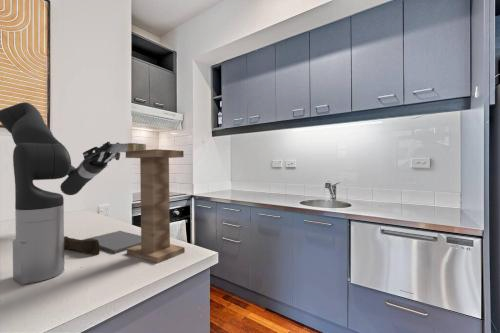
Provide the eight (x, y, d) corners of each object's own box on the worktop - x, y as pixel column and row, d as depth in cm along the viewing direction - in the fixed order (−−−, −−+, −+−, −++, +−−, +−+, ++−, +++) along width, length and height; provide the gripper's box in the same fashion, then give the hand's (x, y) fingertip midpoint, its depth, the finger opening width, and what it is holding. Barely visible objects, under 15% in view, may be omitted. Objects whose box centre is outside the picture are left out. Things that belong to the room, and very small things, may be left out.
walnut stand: (157, 263, 68) (156, 149, 68) (126, 253, 76) (125, 151, 76) (184, 252, 76) (183, 150, 76) (154, 244, 84) (153, 152, 84)
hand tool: (54, 249, 81) (54, 235, 81) (68, 246, 85) (67, 232, 84) (90, 258, 73) (89, 243, 73) (103, 254, 76) (102, 239, 76)
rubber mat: (115, 253, 76) (115, 250, 76) (81, 242, 88) (81, 239, 88) (153, 241, 88) (153, 238, 88) (119, 233, 99) (119, 230, 99)
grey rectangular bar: (133, 152, 81) (133, 143, 81) (100, 151, 91) (100, 143, 91) (145, 152, 85) (146, 144, 85) (112, 152, 95) (112, 144, 95)
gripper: (70, 157, 93) (92, 133, 85) (107, 158, 105) (129, 137, 98) (74, 174, 91) (97, 151, 84) (111, 173, 103) (134, 153, 96)
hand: (114, 144), depth 91 cm, fingers closed on grey rectangular bar, 3 cm apart
